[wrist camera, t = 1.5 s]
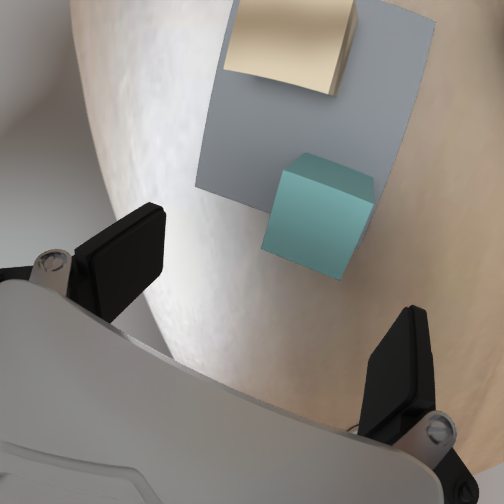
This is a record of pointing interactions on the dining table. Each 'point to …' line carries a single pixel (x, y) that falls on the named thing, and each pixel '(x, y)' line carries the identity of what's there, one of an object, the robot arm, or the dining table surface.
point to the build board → (316, 112)
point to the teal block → (319, 214)
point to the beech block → (294, 41)
